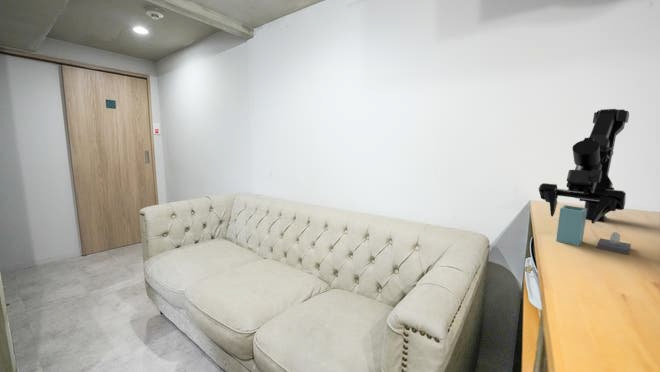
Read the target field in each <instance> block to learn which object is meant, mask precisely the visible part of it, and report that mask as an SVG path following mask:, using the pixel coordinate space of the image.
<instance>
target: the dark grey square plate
mask: <svg viewBox="0 0 660 372" xmlns="http://www.w3.org/2000/svg"><path fill="white" fill-rule="evenodd" d="M609 238H610V239H608V238H607V239H606V238H601V237H600V238H599V240H598V242H597V245H596V248H597V249H601V250H604V251H609V252H610V251H611V252H615V253H618V254H619V253H620V254H623V255H624V254H625V255H628V256H629V255H630V250H631V247H632V246H631V245H632V243H627V242H622V241H620V240H621V234H620V233H619V232H616V231H614V232H612V233H610V237H609Z"/></svg>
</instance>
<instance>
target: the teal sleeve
mask: <svg viewBox="0 0 660 372" xmlns="http://www.w3.org/2000/svg"><path fill="white" fill-rule="evenodd" d="M586 214H587V208H584V207H582V206H580V207H579V206H574V205H573V206H572V205H568V204H567V205H562V207H560V209H559V216H558V224H557V232H556V237H555V238H556V240H555V241H556V242H560V243H565V244H568V245H572V246H577V247H578V246H580V245H581V243H582V242H584V241H583V240H584V234H585V227H586V222H587V221H586V220H587V219H586Z"/></svg>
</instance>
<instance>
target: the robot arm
mask: <svg viewBox="0 0 660 372" xmlns="http://www.w3.org/2000/svg"><path fill="white" fill-rule="evenodd" d="M629 118H630V112H629V110H625V109H624V108H623V109H618V108H617V109H616V108H608V109H607V108H605V109H600V110H597V111H596V112H593V119H592V124H594V125H593V126H592V130H591V132H590V134H589V136H588V137H584V139H582V140H580V141H577V142H576V143H575V144H573V146H572V155H573V161H574V162H573V163H574V164H575V165H576V166H575V169H569V170H568V173H567V177H566V188H567V189H565V188H558V184H557V183H556V184H555V183H547V182H546V183H545V182H543V183H541V184H539V187H538V192H539V195H540V199H542V200H543V201H545V202H546V203H549V209H550V212H549V213H550V217H554V215H555V213H556V209H557V207H558V206H557V205H558V197H559V196H560V197H567V198H574V199H578V200H579V202H584V207H583V208H587V214H586V220H591V224H595V223H596V222H597V221H600V222H606V221H607V218H608V217H607V216H606V214H608V213H610V212H616V210H619V211H622V210H624V209H625V205H626V195H627V193H626V192H625V191H624V190H618V189H617V190H616V189H615V187H613V182H612V181H611V178H610V177H609V174H610V173H609V172H610V168H611V164H612V163H611V162H612V157H613V155H614V147H615V143H616V137H617V136H618V135H619V134H620V133H621V132H622V131H623V130H624V129H625V124H626V123H628V122H629V120H630V119H629Z"/></svg>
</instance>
